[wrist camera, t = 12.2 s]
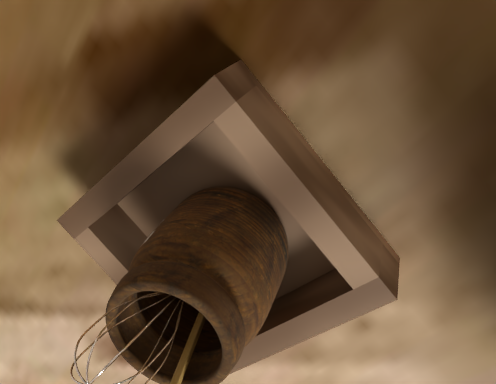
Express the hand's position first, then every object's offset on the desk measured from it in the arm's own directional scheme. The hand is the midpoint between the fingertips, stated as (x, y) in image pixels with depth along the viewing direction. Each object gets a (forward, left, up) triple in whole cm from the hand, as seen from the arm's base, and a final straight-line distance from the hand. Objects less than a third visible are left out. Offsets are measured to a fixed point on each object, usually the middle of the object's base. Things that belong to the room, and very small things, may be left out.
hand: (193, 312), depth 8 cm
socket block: (-2, +7, -14) cm, 15 cm away
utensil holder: (-3, +7, -13) cm, 15 cm away
